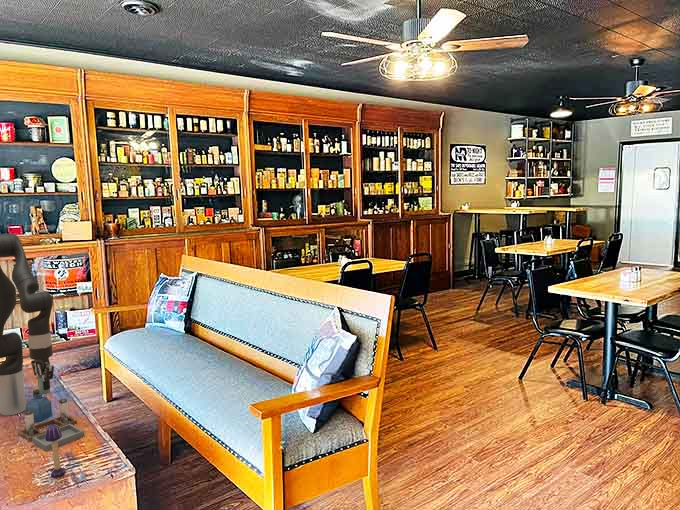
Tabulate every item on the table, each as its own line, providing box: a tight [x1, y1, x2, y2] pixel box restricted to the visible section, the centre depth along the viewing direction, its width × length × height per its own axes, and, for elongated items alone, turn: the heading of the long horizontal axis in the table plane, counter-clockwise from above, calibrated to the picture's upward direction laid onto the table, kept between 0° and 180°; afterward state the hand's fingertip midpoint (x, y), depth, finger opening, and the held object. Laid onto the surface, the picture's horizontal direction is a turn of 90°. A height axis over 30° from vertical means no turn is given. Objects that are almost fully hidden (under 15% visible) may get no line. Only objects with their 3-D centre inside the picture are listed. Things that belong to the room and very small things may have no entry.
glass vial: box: [23, 410, 36, 437], centre depth 192 cm, size 3×3×10 cm
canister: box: [58, 398, 70, 424], centre depth 202 cm, size 3×3×10 cm
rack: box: [17, 416, 78, 443], centre depth 197 cm, size 9×18×2 cm, turn 144°
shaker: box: [37, 374, 51, 395], centre depth 195 cm, size 4×4×7 cm
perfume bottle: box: [25, 388, 53, 423], centre depth 206 cm, size 6×6×12 cm
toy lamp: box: [45, 424, 67, 479], centre depth 164 cm, size 5×5×17 cm
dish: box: [32, 424, 85, 452], centre depth 189 cm, size 11×14×2 cm
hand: (44, 388), depth 195 cm, fingers closed on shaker, 3 cm apart
